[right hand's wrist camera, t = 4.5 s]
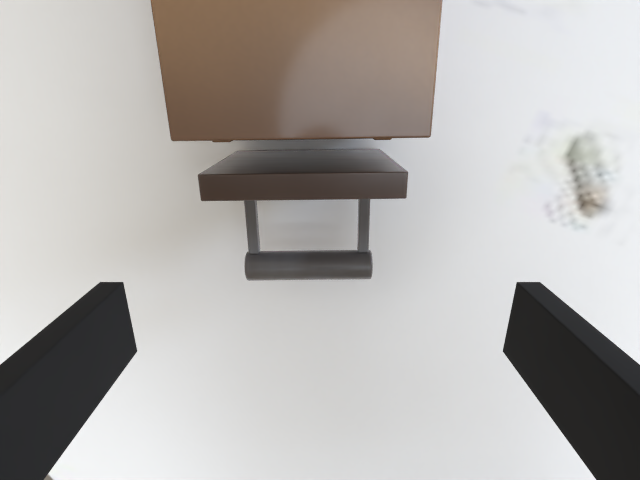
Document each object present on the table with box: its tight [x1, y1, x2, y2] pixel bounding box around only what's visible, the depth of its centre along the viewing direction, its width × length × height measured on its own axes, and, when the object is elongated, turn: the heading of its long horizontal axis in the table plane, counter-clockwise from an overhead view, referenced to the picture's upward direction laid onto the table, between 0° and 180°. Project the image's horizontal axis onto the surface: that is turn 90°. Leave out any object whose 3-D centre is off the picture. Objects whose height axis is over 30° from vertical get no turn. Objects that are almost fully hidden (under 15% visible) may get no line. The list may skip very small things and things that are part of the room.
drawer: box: [198, 138, 408, 280], centre depth 19 cm, size 23×9×8 cm, turn 1°
